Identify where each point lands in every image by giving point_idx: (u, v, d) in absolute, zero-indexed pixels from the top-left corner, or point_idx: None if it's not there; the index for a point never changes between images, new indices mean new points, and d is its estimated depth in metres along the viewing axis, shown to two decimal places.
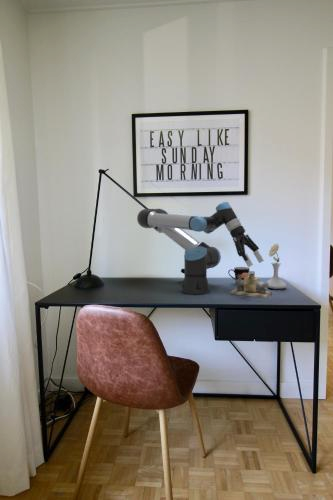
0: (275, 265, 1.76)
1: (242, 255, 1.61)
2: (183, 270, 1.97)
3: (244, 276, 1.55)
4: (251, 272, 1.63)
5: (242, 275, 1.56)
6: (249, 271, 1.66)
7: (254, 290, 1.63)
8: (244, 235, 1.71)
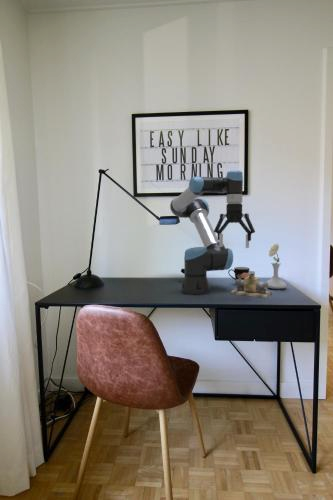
0: (275, 265, 1.76)
1: (218, 233, 1.64)
2: (183, 270, 1.97)
3: (244, 276, 1.55)
4: (251, 272, 1.63)
5: (242, 275, 1.56)
6: (249, 271, 1.66)
7: (254, 290, 1.63)
8: (239, 214, 1.56)
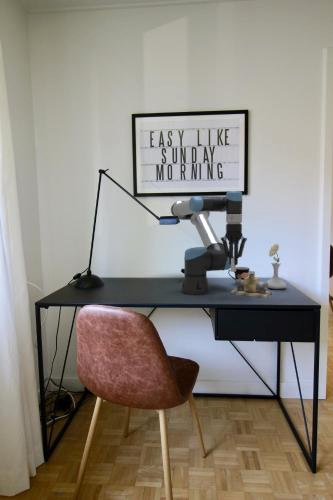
0: (275, 265, 1.76)
1: None
2: (183, 270, 1.97)
3: (244, 276, 1.55)
4: (251, 272, 1.63)
5: (242, 275, 1.56)
6: (249, 271, 1.66)
7: (254, 290, 1.63)
8: (239, 234, 1.56)
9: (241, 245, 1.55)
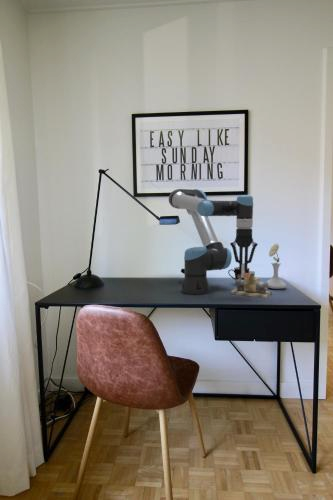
0: (275, 265, 1.76)
1: None
2: (183, 270, 1.97)
3: (246, 276, 1.55)
4: (251, 272, 1.63)
5: (244, 275, 1.55)
6: (249, 271, 1.66)
7: (254, 290, 1.63)
8: (250, 239, 1.53)
9: (252, 250, 1.54)
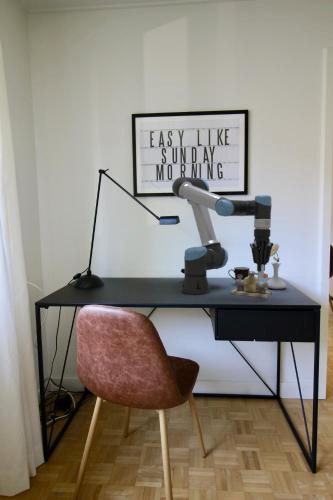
0: (275, 265, 1.76)
1: (257, 264, 1.54)
2: (183, 270, 1.97)
3: (267, 276, 1.54)
4: (255, 272, 1.64)
5: (265, 275, 1.54)
6: (249, 271, 1.65)
7: (254, 290, 1.63)
8: (268, 239, 1.54)
9: (270, 250, 1.55)
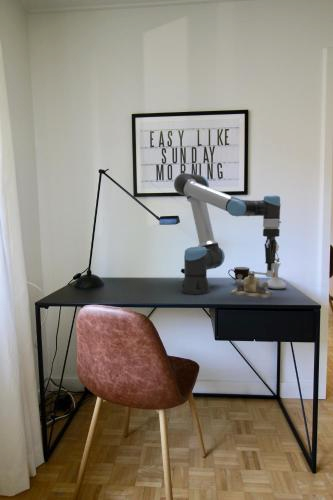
0: (275, 265, 1.76)
1: (268, 264, 1.56)
2: (183, 270, 1.97)
3: (275, 275, 1.58)
4: (256, 272, 1.65)
5: (274, 274, 1.58)
6: (250, 272, 1.65)
7: (254, 290, 1.63)
8: None
9: (275, 249, 1.60)
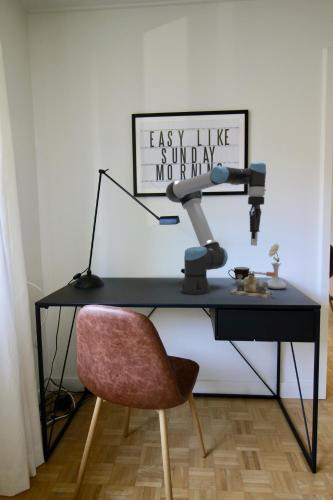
0: (275, 265, 1.76)
1: (252, 232, 1.56)
2: (183, 270, 1.97)
3: (275, 275, 1.59)
4: (256, 272, 1.65)
5: (274, 274, 1.58)
6: (250, 272, 1.65)
7: (254, 290, 1.63)
8: (259, 207, 1.58)
9: None
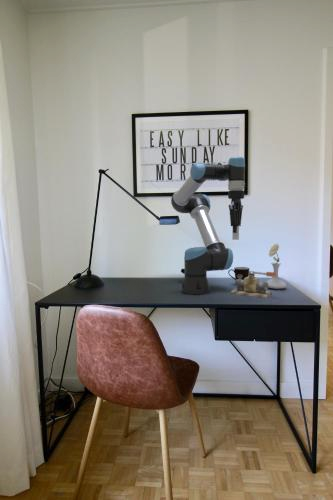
0: (275, 265, 1.76)
1: (233, 226, 1.56)
2: (183, 270, 1.97)
3: (275, 275, 1.59)
4: (256, 272, 1.65)
5: (274, 274, 1.58)
6: (250, 272, 1.65)
7: (254, 290, 1.63)
8: (240, 201, 1.58)
9: (241, 212, 1.60)
